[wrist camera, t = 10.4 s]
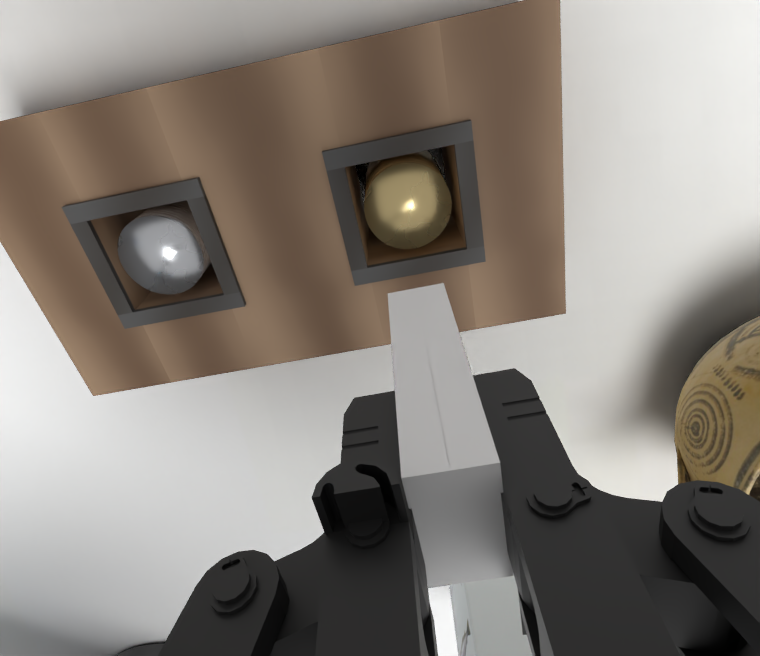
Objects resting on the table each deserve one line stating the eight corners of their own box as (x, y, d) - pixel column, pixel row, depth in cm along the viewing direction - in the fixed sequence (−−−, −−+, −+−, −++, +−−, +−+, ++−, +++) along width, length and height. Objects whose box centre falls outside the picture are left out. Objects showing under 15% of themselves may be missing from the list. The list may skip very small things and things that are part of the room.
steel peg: (176, 259, 30) (139, 301, 25) (148, 193, 28) (102, 225, 23) (240, 246, 30) (215, 286, 25) (216, 179, 28) (184, 208, 23)
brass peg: (373, 220, 29) (373, 256, 24) (358, 149, 27) (355, 172, 22) (443, 206, 29) (456, 240, 24) (432, 133, 27) (445, 154, 22)
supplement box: (455, 533, 43) (482, 701, 32) (540, 534, 44) (597, 702, 33) (446, 586, 47) (468, 753, 36) (525, 587, 47) (571, 753, 36)
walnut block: (137, 340, 33) (90, 399, 28) (22, 116, 27) (-69, 137, 21) (533, 267, 31) (567, 316, 26) (520, 2, 24) (562, -9, 19)
